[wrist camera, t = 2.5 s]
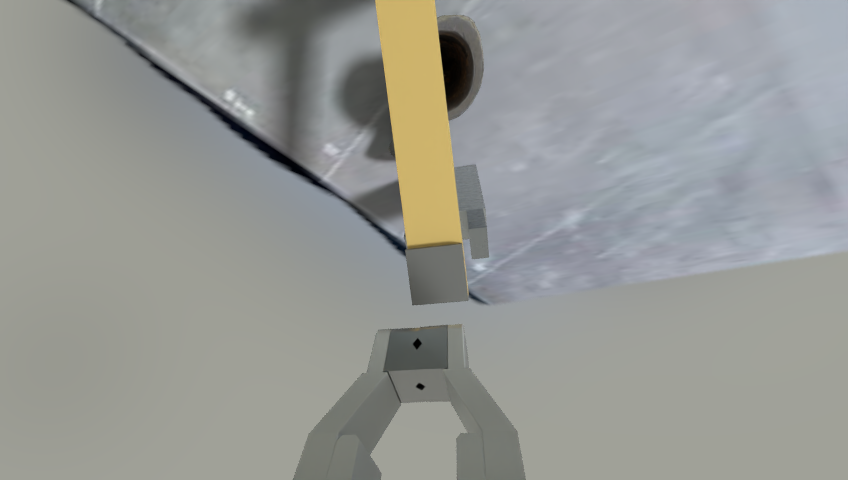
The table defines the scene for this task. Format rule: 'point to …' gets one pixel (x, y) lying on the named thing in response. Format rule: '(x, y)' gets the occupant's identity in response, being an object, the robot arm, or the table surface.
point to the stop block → (471, 210)
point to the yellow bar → (423, 150)
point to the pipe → (459, 63)
